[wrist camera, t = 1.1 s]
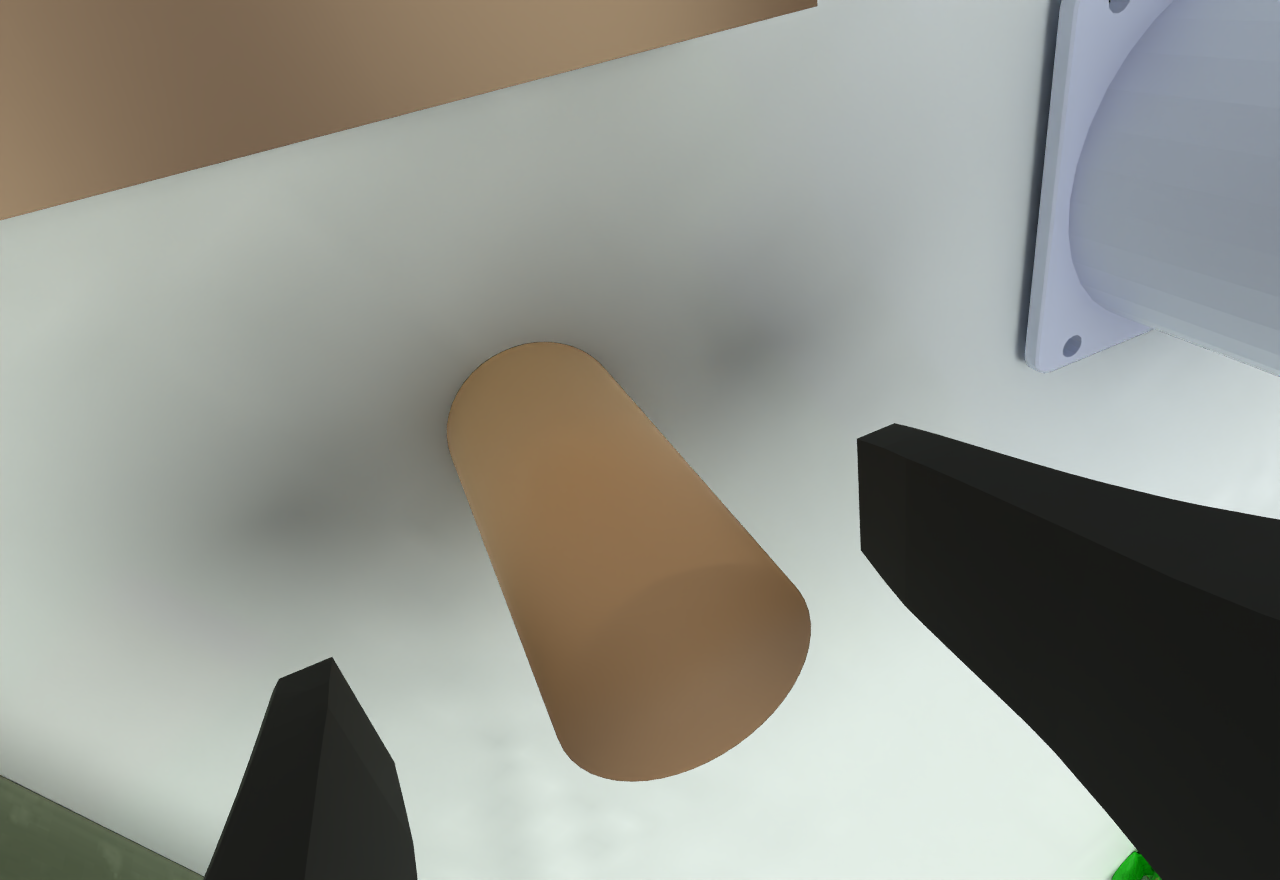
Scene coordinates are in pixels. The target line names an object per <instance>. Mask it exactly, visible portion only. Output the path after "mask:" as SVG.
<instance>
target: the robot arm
mask: <svg viewBox="0 0 1280 880" xmlns="http://www.w3.org/2000/svg"><path fill="white" fill-rule="evenodd" d="M1153 329H1156V330H1159V331H1161V332H1164V333H1166V334H1169V335H1172V336H1174V337H1177V338H1179V339H1182V340H1185V341H1187V342H1190V343H1193V344H1195V345H1198V346H1200V347H1203V348H1206V349H1208V350H1211V351H1213V352H1216V353H1219V354H1221V355H1224V356H1226V357H1229V358H1232V359H1234V360H1237V361H1240V362H1242V363H1245V364H1247V365H1250V366H1253V367H1255V368H1258V369H1260V370H1263V371H1266V372H1268V373H1271V374H1273V375H1276V376H1279V377H1280V0H1111V1H1110V3H1109V0H1062V1H1061V5H1060V11H1059V21H1058V31H1057V41H1056V51H1055V61H1054V71H1053V80H1052V90H1051V100H1050V110H1049V120H1048V130H1047V140H1046V150H1045V159H1044V169H1043V179H1042V189H1041V199H1040V209H1039V219H1038V229H1037V238H1036V248H1035V258H1034V268H1033V278H1032V288H1031V298H1030V308H1029V317H1028V327H1027V337H1026V347H1025V362H1026V363H1027V365H1028V366H1029V367H1031V368H1033V369H1035V370H1037V371H1039V372H1042V373H1047V372H1051V371H1054V370H1056V369H1059V368H1061V367H1063V366H1066V365H1068V364H1071V363H1073V362H1076V361H1078V360H1080V359H1083V358H1085V357H1088V356H1090V355H1092V354H1095V353H1097V352H1100V351H1102V350H1104V349H1107V348H1109V347H1112V346H1114V345H1117V344H1119V343H1121V342H1124V341H1126V340H1129V339H1131V338H1133V337H1136V336H1138V335H1141V334H1143V333H1145V332H1148V331H1150V330H1153ZM857 452H858V481H859V510H860V539H861V551H862V552H863V554H864V555H865V556H866V558H867V559H868V560H869V561H870V563H871V564H872V565H873V567H874V568H875V569H876V571H877V572H878V573H879V574H880V576H881V577H882V578H883V580H884V581H885V582H886V583H887V585H888V586H889V587H890V588H891V589H892V591H893V592H894V593H895V594H896V596H897V597H898V598H899V599H900V600H901V602H902V603H903V604H904V605H905V606H906V607H907V608H908V609H909V610H910V611H911V612H912V613H913V614H914V615H915V616H916V617H917V618H918V619H919V620H920V621H921V622H922V623H923V624H924V625H925V626H926V627H927V628H928V629H929V630H930V631H931V632H932V633H933V634H934V635H935V636H936V637H937V638H938V639H939V640H940V641H941V642H942V643H943V644H944V645H945V646H946V647H947V648H948V649H950V650H951V651H952V652H953V653H954V654H955V655H956V656H957V657H958V658H959V659H960V660H961V661H962V662H963V663H964V664H965V665H966V666H967V667H968V668H969V669H970V670H971V671H973V672H974V673H975V674H976V675H977V676H978V677H979V678H980V679H981V680H982V681H983V682H984V683H985V684H986V685H987V686H988V687H989V688H990V689H991V690H992V691H993V692H994V693H996V694H997V695H998V696H999V697H1000V698H1001V699H1002V700H1003V701H1004V702H1005V703H1006V704H1007V705H1008V706H1009V707H1010V708H1011V709H1012V710H1013V711H1014V712H1015V713H1016V714H1017V715H1019V716H1020V717H1021V718H1022V719H1023V720H1024V721H1025V722H1026V723H1027V724H1028V725H1029V726H1030V727H1031V728H1032V729H1033V730H1034V731H1035V732H1036V733H1037V734H1038V735H1039V737H1040V738H1041V739H1042V740H1043V741H1044V742H1045V743H1046V744H1047V745H1048V746H1049V747H1050V748H1051V749H1052V750H1053V751H1054V752H1055V753H1056V754H1057V756H1058V757H1059V758H1060V759H1061V760H1062V761H1063V762H1064V764H1065V765H1066V766H1067V767H1068V768H1069V769H1070V771H1071V772H1072V773H1073V774H1074V775H1075V776H1076V777H1077V779H1078V780H1079V781H1080V782H1081V783H1082V784H1083V786H1084V787H1085V788H1086V789H1087V790H1088V791H1089V793H1090V794H1091V795H1092V796H1093V797H1094V798H1095V799H1096V801H1097V802H1098V803H1099V804H1100V805H1101V806H1102V808H1103V809H1104V810H1105V811H1106V812H1107V813H1108V815H1109V816H1110V817H1111V818H1112V819H1113V821H1114V822H1115V823H1116V824H1117V826H1118V827H1119V828H1120V829H1121V830H1122V832H1123V833H1124V834H1125V835H1126V837H1127V838H1128V839H1129V840H1130V841H1131V843H1132V844H1133V845H1134V846H1135V848H1136V849H1137V850H1138V851H1139V852H1140V854H1141V855H1142V856H1143V857H1144V858H1145V860H1146V861H1147V862H1148V863H1149V865H1150V866H1151V867H1152V868H1153V869H1154V871H1155V872H1156V873H1157V874H1158V876H1159V877H1160V878H1161V879H1162V880H1280V520H1279V519H1273V518H1267V517H1261V516H1256V515H1250V514H1245V513H1239V512H1234V511H1229V510H1223V509H1218V508H1212V507H1207V506H1202V505H1197V504H1192V503H1187V502H1183V501H1178V500H1173V499H1169V498H1164V497H1160V496H1156V495H1152V494H1148V493H1143V492H1139V491H1135V490H1131V489H1127V488H1123V487H1119V486H1115V485H1111V484H1106V483H1103V482H1099V481H1095V480H1092V479H1088V478H1084V477H1080V476H1077V475H1073V474H1069V473H1066V472H1062V471H1059V470H1055V469H1052V468H1048V467H1045V466H1041V465H1038V464H1034V463H1031V462H1027V461H1024V460H1021V459H1017V458H1014V457H1011V456H1007V455H1004V454H1001V453H997V452H994V451H991V450H987V449H984V448H981V447H977V446H974V445H971V444H967V443H964V442H961V441H957V440H954V439H951V438H947V437H944V436H941V435H937V434H934V433H930V432H927V431H923V430H919V429H916V428H912V427H908V426H904V425H899V424H895V423H894V424H892V425H889V426H887V427H884V428H882V429H880V430H877V431H875V432H872V433H870V434H867V435H865V436H863V437H860V438H858V439H857ZM203 880H417V871H416V862H415V854H414V846H413V840H412V836H411V831H410V827H409V822H408V818H407V813H406V809H405V805H404V800H403V796H402V792H401V788H400V784H399V780H398V776H397V772H396V767H395V763H394V761H393V759H392V758H391V756H390V754H389V752H388V751H387V749H386V747H385V746H384V744H383V742H382V741H381V739H380V737H379V736H378V734H377V732H376V730H375V729H374V727H373V725H372V724H371V722H370V720H369V719H368V717H367V715H366V713H365V712H364V710H363V708H362V707H361V705H360V703H359V702H358V700H357V698H356V697H355V695H354V693H353V691H352V690H351V688H350V686H349V685H348V683H347V681H346V680H345V678H344V676H343V675H342V673H341V671H340V669H339V668H338V666H337V664H336V663H335V661H334V659H333V658H332V657H331V658H328V659H326V660H324V661H321V662H319V663H316V664H314V665H312V666H309V667H307V668H304V669H302V670H299V671H297V672H295V673H292V674H290V675H287V676H285V677H283V678H280V679H279V680H278V682H277V684H276V686H275V688H274V690H273V693H272V696H271V698H270V701H269V704H268V707H267V710H266V713H265V716H264V719H263V722H262V725H261V728H260V731H259V734H258V737H257V740H256V743H255V745H254V748H253V751H252V754H251V757H250V760H249V762H248V765H247V768H246V771H245V773H244V776H243V779H242V782H241V784H240V787H239V790H238V793H237V795H236V798H235V801H234V803H233V806H232V808H231V811H230V813H229V816H228V819H227V821H226V824H225V826H224V829H223V831H222V834H221V836H220V839H219V841H218V844H217V847H216V849H215V852H214V854H213V857H212V859H211V862H210V864H209V867H208V869H207V872H206V874H205V877H204V879H203Z"/></svg>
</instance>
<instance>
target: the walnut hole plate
mask: <svg viewBox="0 0 1280 880" xmlns="http://www.w3.org/2000/svg"><path fill="white" fill-rule="evenodd" d="M815 6H817V0H0V220H4V219H7V218H11V217H15V216H19V215H23V214H26V213H30V212H34V211H38V210H42V209H46V208H49V207H53V206H57V205H61V204H65V203H68V202H72V201H76V200H80V199H84V198H87V197H91V196H95V195H99V194H103V193H106V192H110V191H114V190H118V189H122V188H126V187H129V186H133V185H137V184H141V183H145V182H148V181H152V180H156V179H160V178H164V177H167V176H171V175H175V174H179V173H183V172H187V171H190V170H194V169H198V168H202V167H206V166H209V165H213V164H217V163H221V162H225V161H228V160H232V159H236V158H240V157H244V156H247V155H251V154H255V153H259V152H263V151H267V150H270V149H274V148H278V147H282V146H286V145H289V144H293V143H297V142H301V141H305V140H308V139H312V138H316V137H320V136H324V135H328V134H331V133H335V132H339V131H343V130H347V129H350V128H354V127H358V126H362V125H366V124H369V123H373V122H377V121H381V120H385V119H389V118H392V117H396V116H400V115H404V114H408V113H411V112H415V111H419V110H423V109H427V108H430V107H434V106H438V105H442V104H446V103H449V102H453V101H457V100H461V99H465V98H469V97H472V96H476V95H480V94H484V93H488V92H491V91H495V90H499V89H503V88H507V87H510V86H514V85H518V84H522V83H526V82H530V81H533V80H537V79H541V78H545V77H549V76H552V75H556V74H560V73H564V72H568V71H571V70H575V69H579V68H583V67H587V66H590V65H594V64H598V63H602V62H606V61H610V60H613V59H617V58H621V57H625V56H629V55H632V54H636V53H640V52H644V51H648V50H651V49H655V48H659V47H663V46H667V45H671V44H674V43H678V42H682V41H686V40H690V39H693V38H697V37H701V36H705V35H709V34H712V33H716V32H720V31H724V30H728V29H732V28H735V27H739V26H743V25H747V24H751V23H754V22H758V21H762V20H766V19H770V18H773V17H777V16H781V15H785V14H789V13H792V12H796V11H800V10H804V9H808V8H812V7H815Z"/></svg>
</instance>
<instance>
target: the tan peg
mask: <svg viewBox="0 0 1280 880" xmlns="http://www.w3.org/2000/svg"><path fill="white" fill-rule="evenodd" d="M447 441H448V447H449V451H450V454H451V457H452V460H453V463H454V465H455V468H456V471H457V473H458V476H459V479H460V481H461V484H462V486H463V489H464V492H465V494H466V497H467V500H468V502H469V505H470V508H471V510H472V513H473V516H474V518H475V521H476V524H477V526H478V529H479V531H480V534H481V537H482V539H483V542H484V545H485V547H486V550H487V553H488V555H489V558H490V561H491V563H492V566H493V568H494V571H495V574H496V576H497V579H498V582H499V584H500V587H501V590H502V592H503V595H504V598H505V600H506V603H507V606H508V608H509V611H510V613H511V616H512V619H513V621H514V624H515V627H516V629H517V632H518V635H519V637H520V640H521V643H522V645H523V648H524V650H525V653H526V656H527V658H528V661H529V664H530V666H531V669H532V672H533V674H534V677H535V680H536V682H537V685H538V687H539V690H540V693H541V695H542V698H543V701H544V703H545V706H546V709H547V711H548V714H549V717H550V719H551V722H552V725H553V727H554V730H555V732H556V735H557V738H558V740H559V742H560V744H561V746H562V748H563V750H564V751H565V753H566V754H567V755H568V756H569V758H570V759H571V760H572V761H573V762H574V763H576V764H577V765H578V766H579V767H581V768H582V769H584V770H586V771H588V772H589V773H591V774H594V775H597V776H600V777H602V778H606V779H611V780H617V781H631V782H633V781H648V780H654V779H661V778H665V777H669V776H673V775H677V774H680V773H683V772H686V771H688V770H691V769H694V768H696V767H698V766H701V765H703V764H705V763H707V762H709V761H711V760H713V759H715V758H717V757H718V756H720V755H722V754H724V753H725V752H727V751H728V750H730V749H732V748H733V747H735V746H736V745H738V744H739V743H740V742H742V741H743V740H744V739H745V738H747V737H748V736H749V735H751V734H752V733H753V732H754V731H755V730H756V729H757V728H759V727H760V726H761V725H762V724H763V723H764V722H765V721H766V720H767V719H768V718H769V717H770V716H771V715H772V714H773V713H774V711H775V710H776V709H777V708H778V706H779V705H780V704H781V703H782V702H783V700H784V699H785V697H786V696H787V695H788V693H789V692H790V690H791V689H792V687H793V685H794V683H795V682H796V680H797V678H798V676H799V674H800V672H801V670H802V667H803V665H804V662H805V660H806V656H807V653H808V649H809V643H810V636H811V621H810V616H809V610H808V608H807V605H806V602H805V600H804V598H803V596H802V595H801V593H800V592H799V590H798V589H797V588H796V586H795V585H794V584H793V583H792V582H791V581H790V580H789V578H788V577H787V576H786V575H785V574H784V573H783V572H782V570H781V569H780V568H779V567H778V566H777V565H776V564H775V562H774V561H773V560H772V559H771V558H770V557H769V556H768V554H767V553H766V552H765V551H764V550H763V549H762V548H761V546H760V545H759V544H758V543H757V542H756V541H755V540H754V538H753V537H752V536H751V535H750V534H749V533H748V532H747V530H746V529H745V528H744V527H743V526H742V525H741V524H740V522H739V521H738V520H737V519H736V518H735V517H734V516H733V514H732V513H731V512H730V511H729V510H728V509H727V508H726V507H725V505H724V504H723V503H722V502H721V501H720V500H719V499H718V497H717V496H716V495H715V494H714V493H713V492H712V491H711V489H710V488H709V487H708V486H707V485H706V484H705V483H704V481H703V480H702V479H701V478H700V477H699V476H698V475H697V473H696V472H695V471H694V470H693V469H692V468H691V467H690V465H689V464H688V463H687V462H686V461H685V460H684V459H683V457H682V456H681V455H680V454H679V453H678V452H677V451H676V449H675V448H674V447H673V446H672V445H671V444H670V443H669V441H668V440H667V439H666V438H665V437H664V436H663V435H662V433H661V432H660V431H659V430H658V429H657V428H656V427H655V425H654V424H653V423H652V422H651V421H650V420H649V419H648V417H647V416H646V415H645V414H644V413H643V412H642V411H641V409H640V408H639V407H638V406H637V405H636V404H635V403H634V401H633V400H632V399H631V398H630V397H629V396H628V395H627V393H626V392H625V391H624V390H623V389H622V388H621V387H620V385H619V384H618V383H617V382H616V381H615V380H614V379H613V377H612V376H611V375H610V374H609V373H608V372H607V371H606V370H605V368H604V367H603V366H602V365H601V364H600V363H599V362H598V361H597V360H595V359H594V358H593V357H592V356H590V355H589V354H587V353H585V352H584V351H582V350H580V349H577V348H575V347H572V346H569V345H565V344H561V343H552V342H536V343H529V344H523V345H520V346H516V347H513V348H510V349H508V350H505V351H503V352H501V353H499V354H497V355H495V356H494V357H492V358H490V359H489V360H487V361H486V362H485V363H483V364H482V365H481V366H479V367H478V368H477V369H476V370H475V371H474V372H473V373H472V374H471V375H470V376H469V377H468V379H467V380H466V381H465V382H464V384H463V385H462V387H461V388H460V390H459V391H458V393H457V395H456V397H455V399H454V401H453V403H452V406H451V410H450V413H449V417H448V423H447Z"/></svg>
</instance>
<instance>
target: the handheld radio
mask: <svg viewBox="0 0 1280 880" xmlns="http://www.w3.org/2000/svg"><path fill="white" fill-rule="evenodd" d="M203 879H204V877H203V876H201V875H199V874H197V873H195V872H193V871H191V870H189V869H187V868H185V867H183V866H181V865H179V864H177V863H175V862H173V861H171V860H169V859H167V858H165V857H163V856H161V855H158V854H156V853H154V852H152V851H150V850H148V849H146V848H144V847H142V846H140V845H138V844H136V843H134V842H132V841H130V840H128V839H126V838H124V837H122V836H120V835H118V834H116V833H114V832H112V831H110V830H108V829H106V828H104V827H102V826H100V825H98V824H96V823H94V822H92V821H90V820H88V819H86V818H84V817H82V816H80V815H78V814H76V813H74V812H72V811H70V810H68V809H66V808H64V807H62V806H60V805H58V804H56V803H54V802H52V801H50V800H48V799H46V798H44V797H42V796H40V795H38V794H36V793H34V792H32V791H30V790H28V789H26V788H24V787H22V786H20V785H18V784H16V783H14V782H12V781H10V780H8V779H6V778H4V777H2V776H0V880H203Z"/></svg>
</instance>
